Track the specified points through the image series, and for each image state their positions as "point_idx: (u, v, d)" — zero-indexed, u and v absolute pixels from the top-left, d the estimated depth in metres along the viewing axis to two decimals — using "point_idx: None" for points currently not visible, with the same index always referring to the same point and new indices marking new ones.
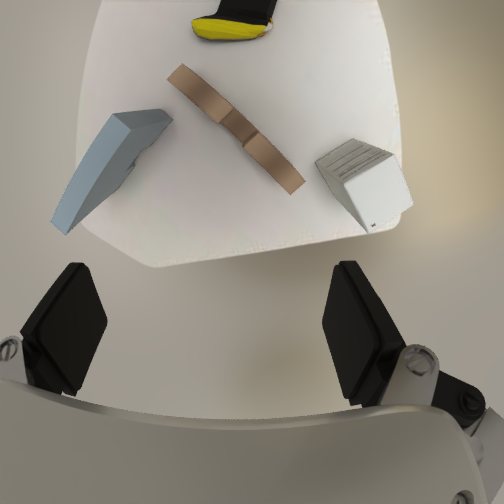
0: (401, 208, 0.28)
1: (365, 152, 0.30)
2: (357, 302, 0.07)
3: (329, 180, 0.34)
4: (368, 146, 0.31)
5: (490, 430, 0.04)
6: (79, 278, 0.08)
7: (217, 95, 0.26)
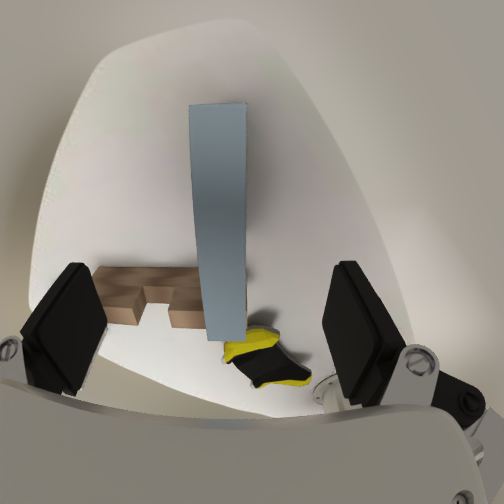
0: None
1: None
2: (357, 302, 0.07)
3: None
4: (94, 357, 0.33)
5: (490, 430, 0.04)
6: (79, 278, 0.08)
7: (192, 327, 0.27)
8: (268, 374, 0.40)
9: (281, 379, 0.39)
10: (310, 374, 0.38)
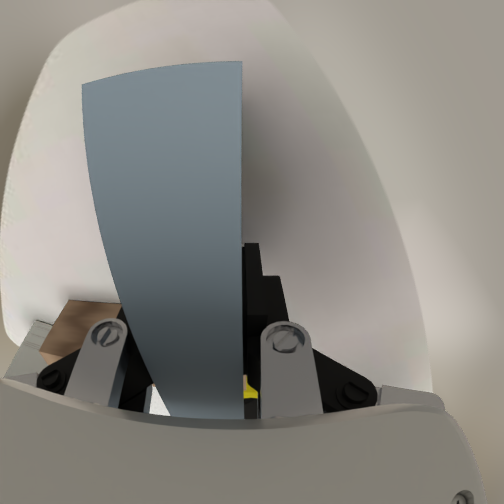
0: None
1: None
2: None
3: None
4: None
5: None
6: None
7: None
8: None
9: None
10: None
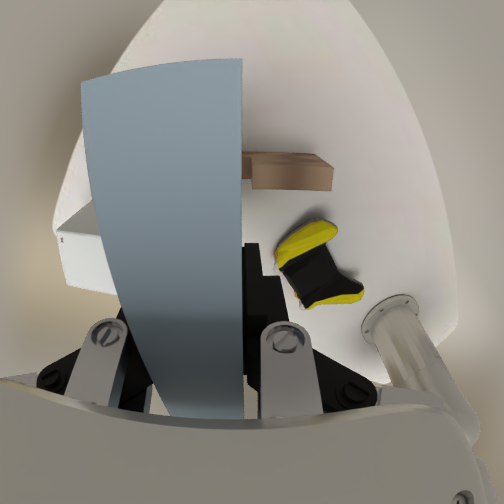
0: (67, 272, 0.25)
1: None
2: None
3: None
4: None
5: None
6: None
7: (275, 187, 0.26)
8: (318, 291, 0.40)
9: (333, 295, 0.39)
10: (363, 287, 0.38)
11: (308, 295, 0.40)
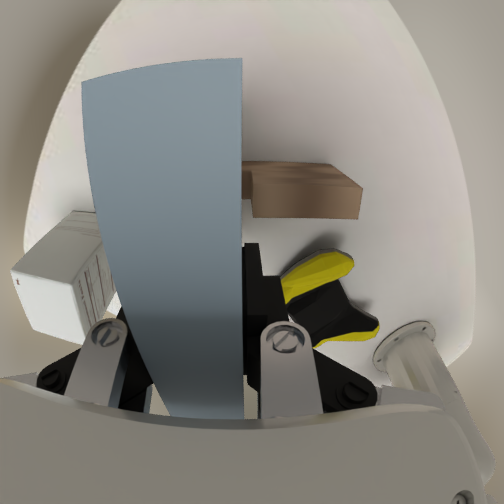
0: (30, 317, 0.18)
1: (103, 299, 0.23)
2: None
3: (91, 233, 0.23)
4: (109, 300, 0.25)
5: None
6: None
7: (285, 215, 0.19)
8: (326, 328, 0.33)
9: (343, 332, 0.32)
10: (378, 323, 0.31)
11: (314, 332, 0.33)
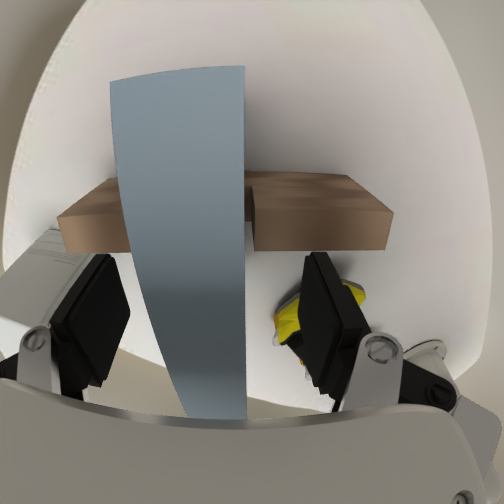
0: (5, 354, 0.14)
1: None
2: (322, 290, 0.08)
3: (64, 259, 0.18)
4: None
5: (466, 419, 0.04)
6: (106, 268, 0.09)
7: (295, 248, 0.15)
8: None
9: None
10: None
11: None
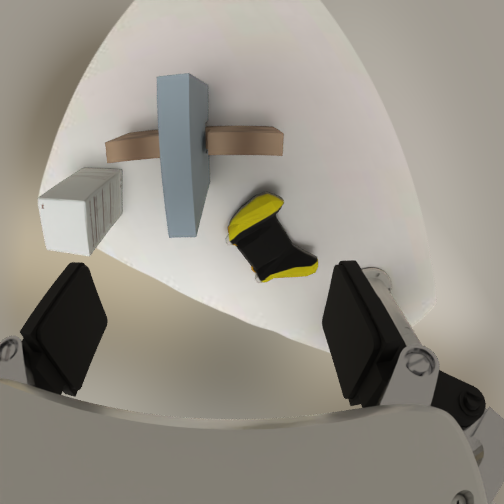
0: (46, 237, 0.26)
1: (103, 225, 0.32)
2: (357, 302, 0.07)
3: (98, 177, 0.31)
4: (107, 229, 0.33)
5: (491, 430, 0.04)
6: (79, 278, 0.08)
7: (229, 153, 0.28)
8: (273, 265, 0.42)
9: (287, 268, 0.41)
10: (316, 260, 0.40)
11: (263, 268, 0.42)
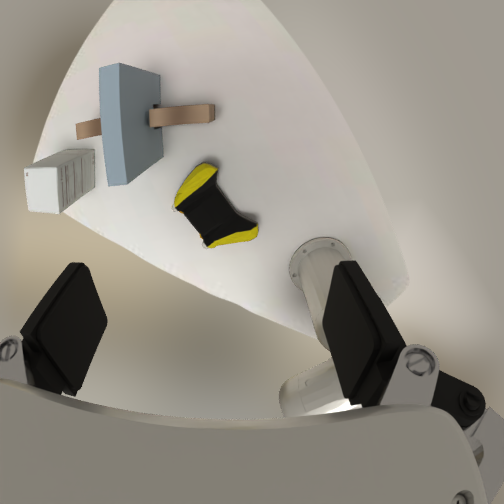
0: (29, 200, 0.30)
1: (74, 192, 0.35)
2: (357, 302, 0.07)
3: (73, 154, 0.35)
4: (78, 196, 0.37)
5: (490, 430, 0.04)
6: (79, 278, 0.08)
7: (166, 124, 0.31)
8: (218, 231, 0.46)
9: (229, 233, 0.45)
10: (256, 225, 0.43)
11: (209, 235, 0.46)
